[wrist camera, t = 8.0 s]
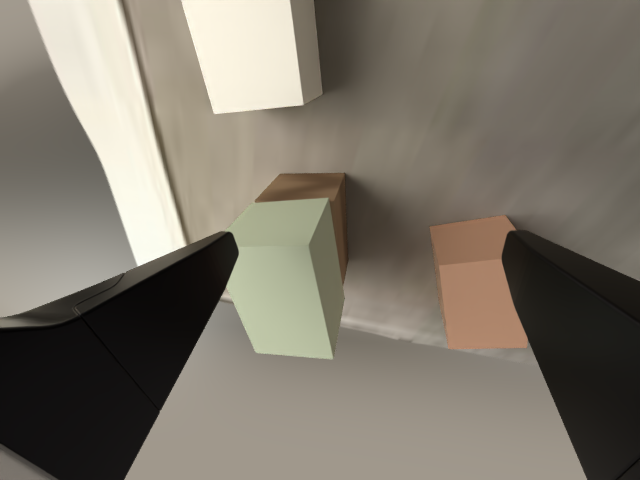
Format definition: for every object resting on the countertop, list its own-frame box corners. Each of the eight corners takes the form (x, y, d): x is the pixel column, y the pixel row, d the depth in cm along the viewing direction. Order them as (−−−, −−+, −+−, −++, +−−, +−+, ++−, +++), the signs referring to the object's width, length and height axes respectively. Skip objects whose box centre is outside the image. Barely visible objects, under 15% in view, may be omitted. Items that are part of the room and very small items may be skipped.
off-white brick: (305, -89, 14) (270, -153, 9) (323, 94, 18) (303, 104, 14) (215, -65, 15) (148, -112, 11) (251, 101, 19) (214, 114, 15)
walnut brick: (344, 172, 20) (333, 201, 16) (348, 260, 25) (340, 300, 20) (280, 173, 21) (254, 200, 17) (294, 257, 26) (276, 295, 22)
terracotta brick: (504, 214, 20) (535, 255, 15) (502, 297, 23) (526, 347, 19) (429, 225, 21) (439, 265, 17) (438, 301, 25) (448, 348, 21)
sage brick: (328, 197, 16) (308, 245, 12) (344, 298, 20) (333, 359, 16) (251, 202, 17) (208, 247, 13) (281, 296, 22) (255, 352, 17)
